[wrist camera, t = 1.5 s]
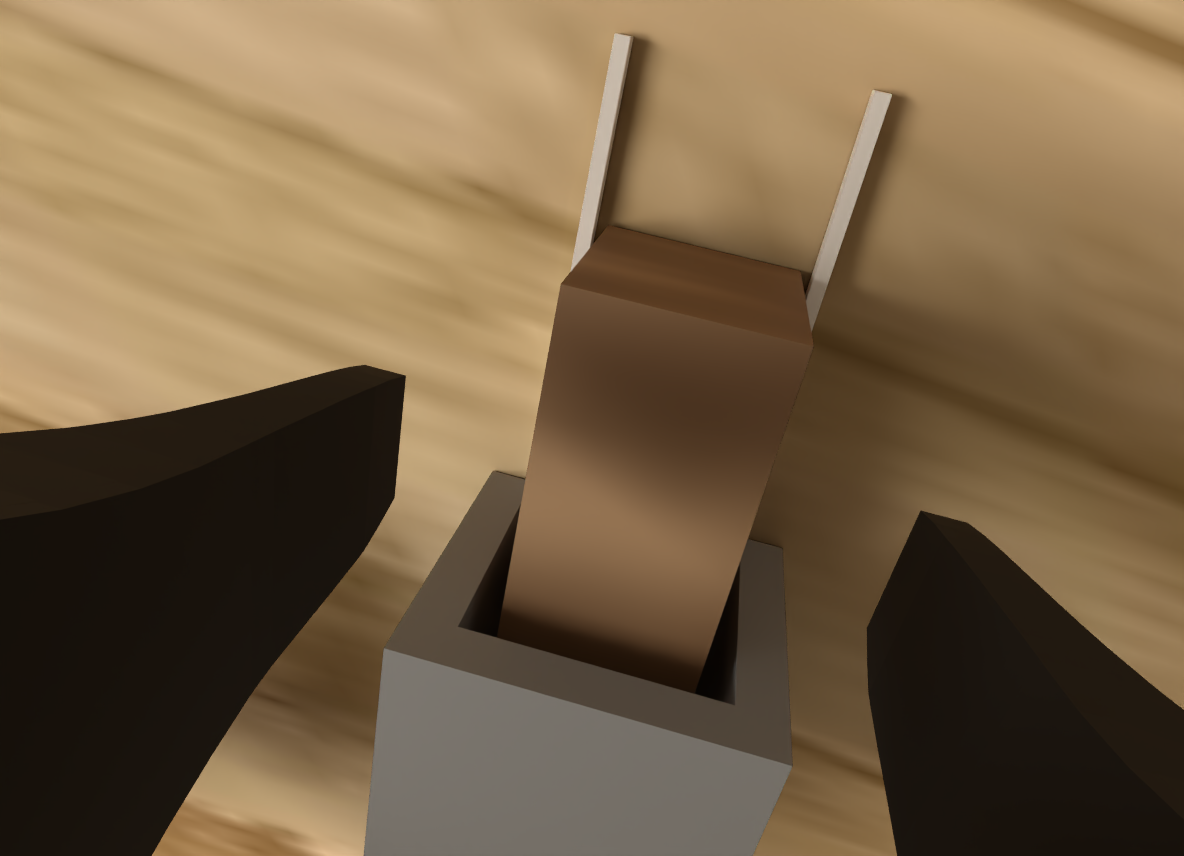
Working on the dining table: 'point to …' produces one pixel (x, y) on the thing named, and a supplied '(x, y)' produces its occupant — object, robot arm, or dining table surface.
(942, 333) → the dining table surface
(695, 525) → the block
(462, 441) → the dining table surface
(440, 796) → the tunnel
